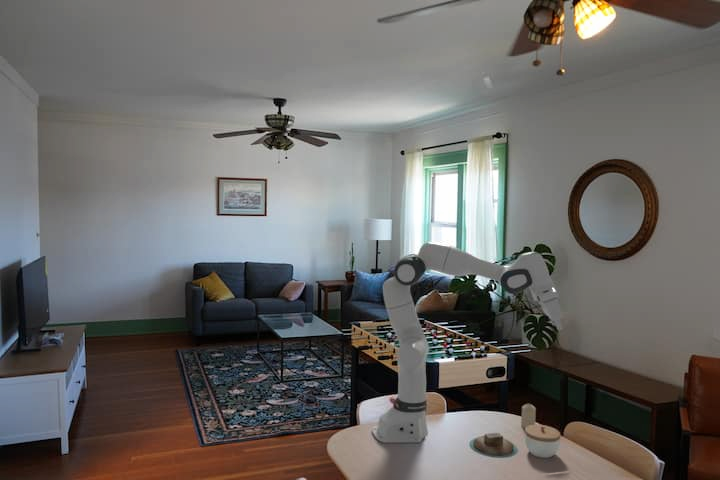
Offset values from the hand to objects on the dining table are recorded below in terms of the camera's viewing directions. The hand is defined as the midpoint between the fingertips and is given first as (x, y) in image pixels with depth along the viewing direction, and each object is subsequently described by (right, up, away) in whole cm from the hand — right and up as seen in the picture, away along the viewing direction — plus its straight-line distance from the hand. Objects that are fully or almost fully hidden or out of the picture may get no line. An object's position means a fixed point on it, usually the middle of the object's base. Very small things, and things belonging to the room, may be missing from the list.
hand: (558, 327), depth 208 cm
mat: (-23, -47, +5) cm, 52 cm away
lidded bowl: (-6, -48, +1) cm, 48 cm away
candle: (-4, -46, +25) cm, 53 cm away
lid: (-23, -46, +5) cm, 52 cm away
